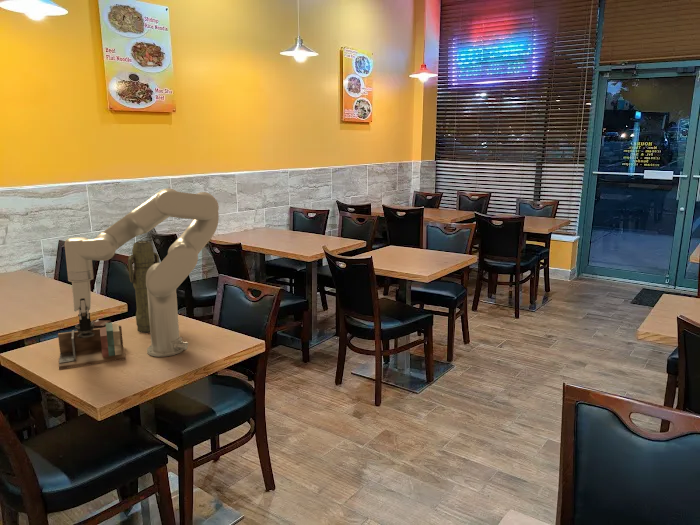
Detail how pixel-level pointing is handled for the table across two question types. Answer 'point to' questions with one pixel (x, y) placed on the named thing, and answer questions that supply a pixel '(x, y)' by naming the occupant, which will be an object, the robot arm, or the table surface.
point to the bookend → (69, 353)
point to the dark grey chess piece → (85, 333)
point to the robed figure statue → (141, 280)
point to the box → (100, 324)
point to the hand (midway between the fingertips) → (85, 326)
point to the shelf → (94, 346)
